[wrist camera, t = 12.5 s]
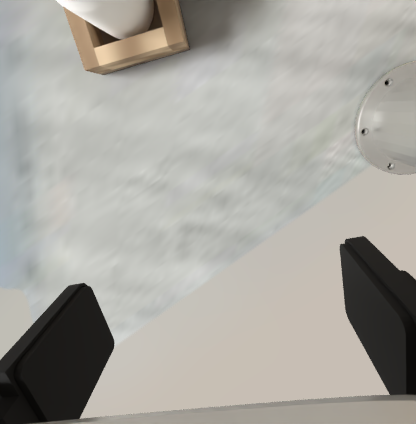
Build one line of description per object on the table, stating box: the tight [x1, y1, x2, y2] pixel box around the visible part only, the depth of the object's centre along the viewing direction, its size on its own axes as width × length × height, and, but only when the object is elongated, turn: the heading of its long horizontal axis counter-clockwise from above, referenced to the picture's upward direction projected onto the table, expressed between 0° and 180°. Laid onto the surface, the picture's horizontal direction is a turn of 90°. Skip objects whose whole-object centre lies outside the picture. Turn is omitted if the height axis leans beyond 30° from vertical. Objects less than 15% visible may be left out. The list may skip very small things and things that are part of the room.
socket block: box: [63, 0, 190, 75], centre depth 30 cm, size 11×11×4 cm
